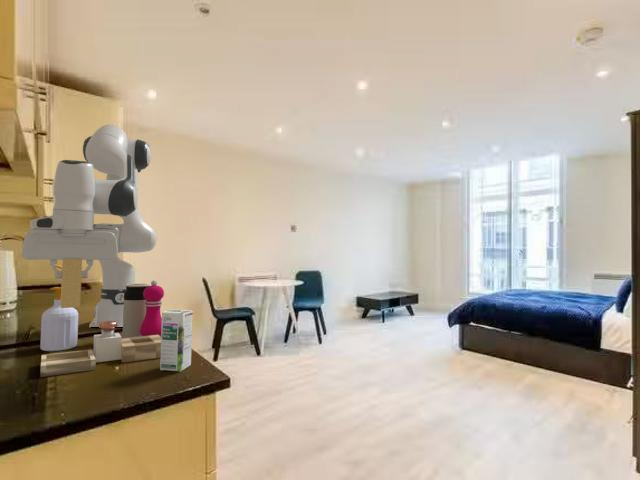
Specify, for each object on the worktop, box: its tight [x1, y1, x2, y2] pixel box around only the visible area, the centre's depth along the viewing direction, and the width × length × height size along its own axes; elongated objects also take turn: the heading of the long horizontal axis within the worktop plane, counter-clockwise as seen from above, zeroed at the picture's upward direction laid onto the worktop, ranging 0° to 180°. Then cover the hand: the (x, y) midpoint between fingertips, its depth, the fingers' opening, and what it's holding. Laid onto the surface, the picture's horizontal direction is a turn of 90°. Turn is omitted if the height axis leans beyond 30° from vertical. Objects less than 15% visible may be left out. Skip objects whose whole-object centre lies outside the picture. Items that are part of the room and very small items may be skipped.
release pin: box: [98, 321, 117, 338], centre depth 105 cm, size 4×4×9 cm
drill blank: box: [60, 259, 83, 308], centre depth 97 cm, size 4×4×12 cm
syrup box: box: [159, 309, 194, 372], centre depth 98 cm, size 6×6×14 cm
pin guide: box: [92, 332, 122, 363], centre depth 105 cm, size 6×6×6 cm
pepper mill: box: [140, 279, 165, 337], centre depth 121 cm, size 7×7×20 cm
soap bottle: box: [39, 264, 79, 352], centre depth 114 cm, size 9×9×25 cm
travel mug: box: [121, 282, 151, 338], centre depth 127 cm, size 8×8×18 cm
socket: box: [120, 335, 161, 363], centre depth 109 cm, size 11×11×4 cm
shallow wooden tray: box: [39, 348, 97, 378], centre depth 96 cm, size 11×11×2 cm
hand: (71, 278), depth 97 cm, fingers closed on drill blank, 4 cm apart
